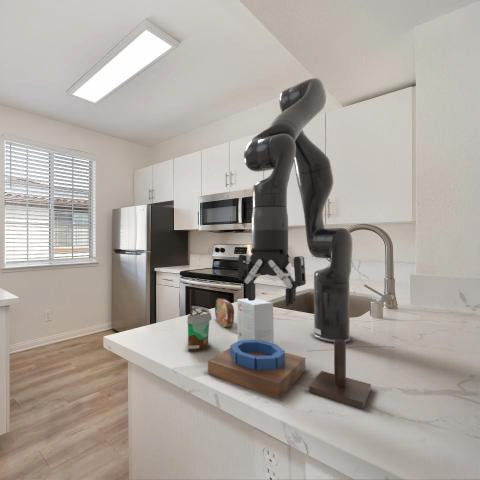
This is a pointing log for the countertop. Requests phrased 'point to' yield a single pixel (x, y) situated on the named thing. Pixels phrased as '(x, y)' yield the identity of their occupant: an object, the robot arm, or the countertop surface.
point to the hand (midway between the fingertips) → (269, 302)
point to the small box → (255, 320)
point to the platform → (258, 373)
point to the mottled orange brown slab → (224, 312)
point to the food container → (198, 328)
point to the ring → (257, 361)
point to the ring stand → (340, 381)
